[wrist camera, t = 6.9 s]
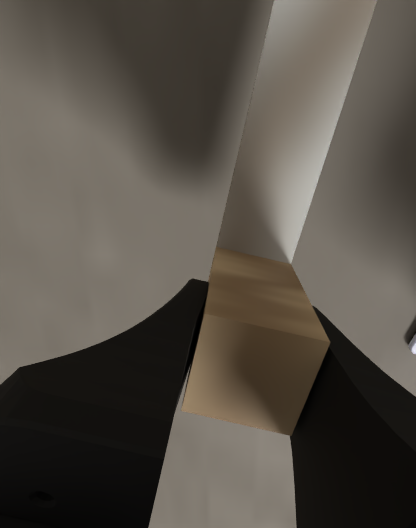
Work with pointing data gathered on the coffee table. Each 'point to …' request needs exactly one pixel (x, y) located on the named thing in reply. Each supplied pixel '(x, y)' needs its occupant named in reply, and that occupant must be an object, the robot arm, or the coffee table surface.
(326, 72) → the turner
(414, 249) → the coffee table surface
